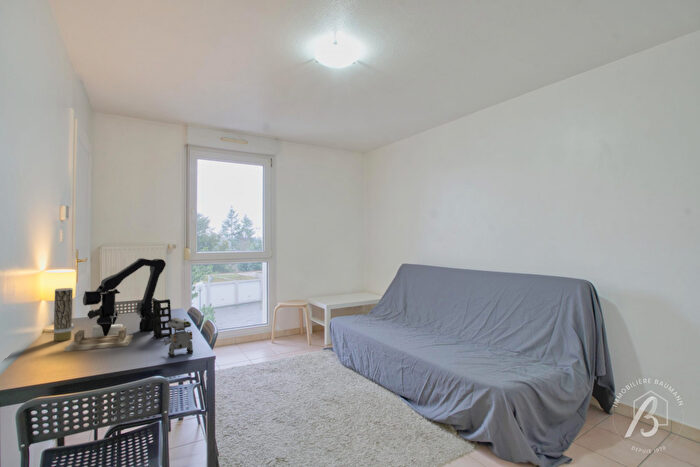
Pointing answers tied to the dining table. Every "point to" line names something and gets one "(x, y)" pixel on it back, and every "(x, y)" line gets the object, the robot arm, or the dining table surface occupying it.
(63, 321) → the bark textured pillar
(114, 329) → the paper roll
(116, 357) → the dining table surface
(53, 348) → the dining table surface
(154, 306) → the holder
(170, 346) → the figurine
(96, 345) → the roll cradle
